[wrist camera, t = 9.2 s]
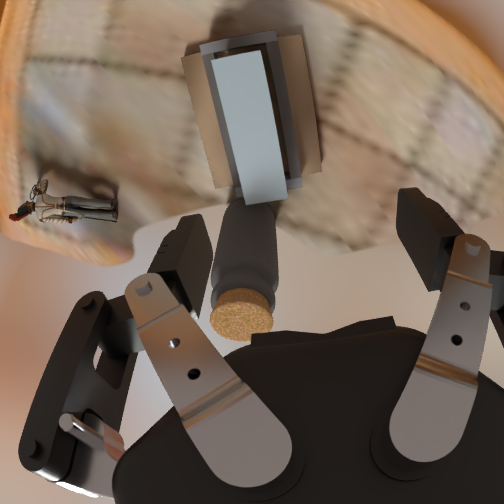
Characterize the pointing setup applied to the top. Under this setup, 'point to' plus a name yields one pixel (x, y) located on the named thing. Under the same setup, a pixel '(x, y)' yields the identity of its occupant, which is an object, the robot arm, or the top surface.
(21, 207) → the figurine
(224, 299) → the bottle
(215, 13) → the top surface
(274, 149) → the door
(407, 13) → the top surface
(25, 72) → the top surface
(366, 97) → the top surface
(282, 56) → the grey piece
